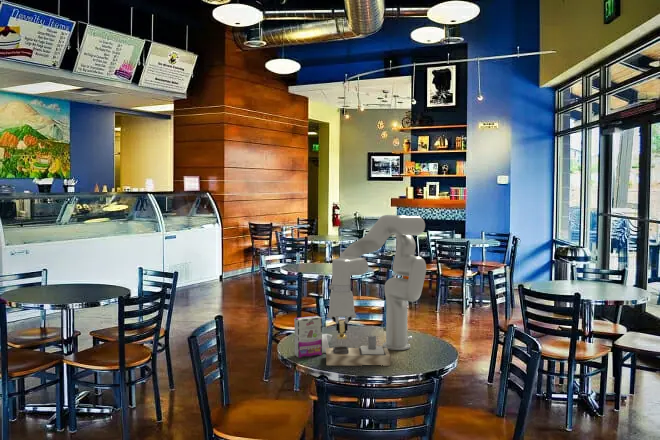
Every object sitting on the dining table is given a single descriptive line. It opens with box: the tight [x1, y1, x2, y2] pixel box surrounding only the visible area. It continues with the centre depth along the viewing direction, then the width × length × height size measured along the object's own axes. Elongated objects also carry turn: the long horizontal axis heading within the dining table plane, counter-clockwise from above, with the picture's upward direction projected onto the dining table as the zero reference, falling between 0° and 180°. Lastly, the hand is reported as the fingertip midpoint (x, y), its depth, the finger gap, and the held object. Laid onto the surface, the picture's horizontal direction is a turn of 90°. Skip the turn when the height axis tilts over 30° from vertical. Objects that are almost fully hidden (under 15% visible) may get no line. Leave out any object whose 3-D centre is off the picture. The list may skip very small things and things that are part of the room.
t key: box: [336, 319, 348, 340], centre depth 246 cm, size 10×4×6 cm, turn 0°
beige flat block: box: [325, 345, 391, 367], centre depth 246 cm, size 26×12×6 cm, turn 91°
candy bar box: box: [293, 315, 323, 359], centre depth 255 cm, size 11×5×16 cm, turn 115°
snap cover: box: [360, 335, 384, 354], centre depth 246 cm, size 9×9×6 cm
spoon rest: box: [322, 333, 333, 354], centre depth 270 cm, size 24×12×7 cm, turn 8°
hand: (341, 332), depth 246 cm, fingers closed on t key, 2 cm apart
